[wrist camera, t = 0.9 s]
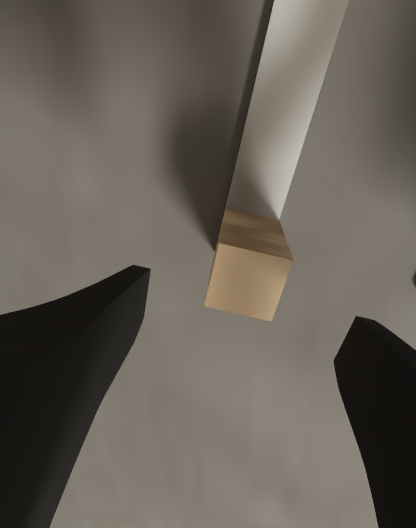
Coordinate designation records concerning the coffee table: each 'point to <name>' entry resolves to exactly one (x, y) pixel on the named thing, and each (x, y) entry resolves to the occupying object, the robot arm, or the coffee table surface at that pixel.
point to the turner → (271, 157)
